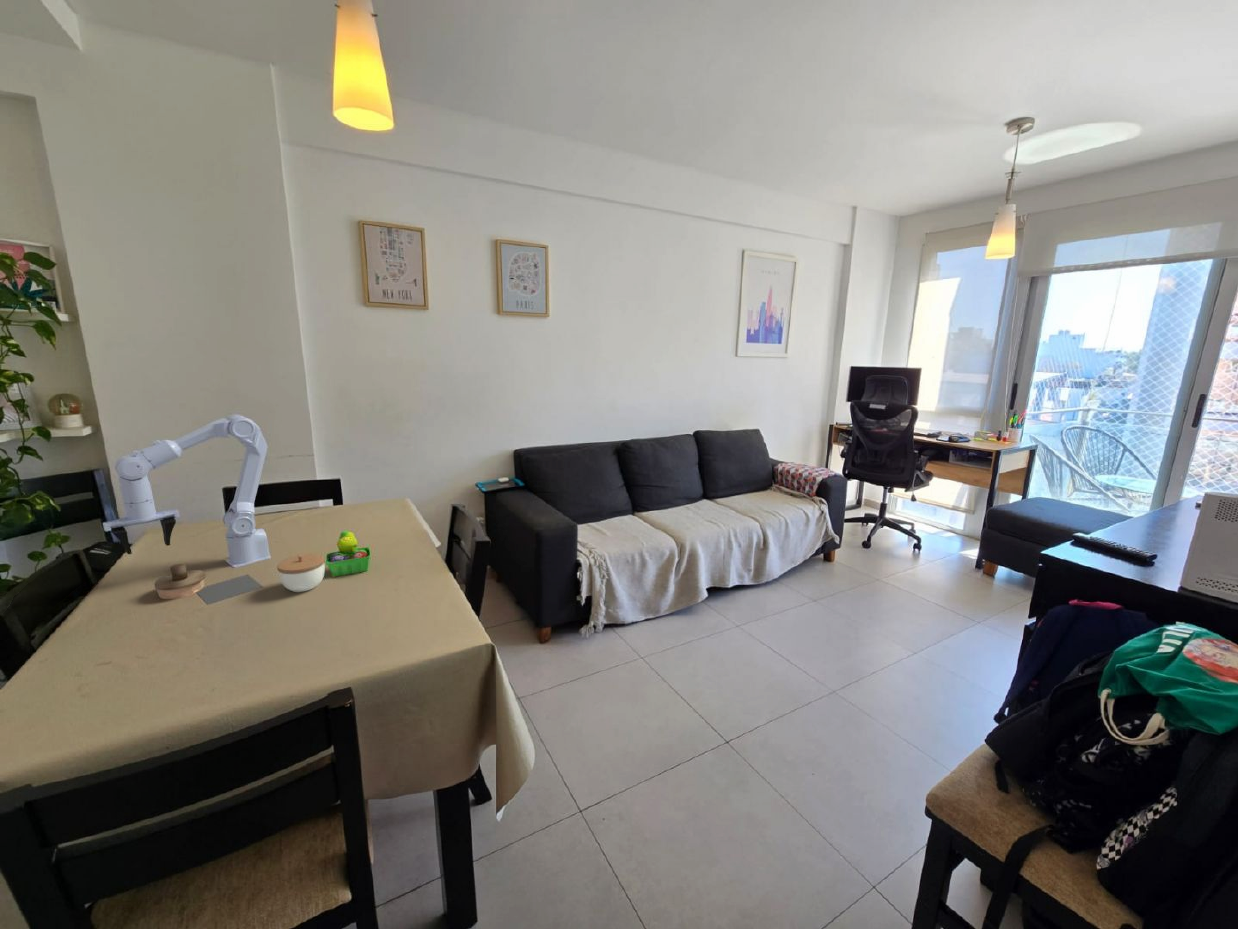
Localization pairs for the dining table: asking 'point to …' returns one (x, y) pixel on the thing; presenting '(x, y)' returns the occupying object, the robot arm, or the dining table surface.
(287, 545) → the dining table surface
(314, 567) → the lidded jar
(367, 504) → the dining table surface
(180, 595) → the bowl
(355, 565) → the fruit basket
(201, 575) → the lid
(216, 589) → the mat
